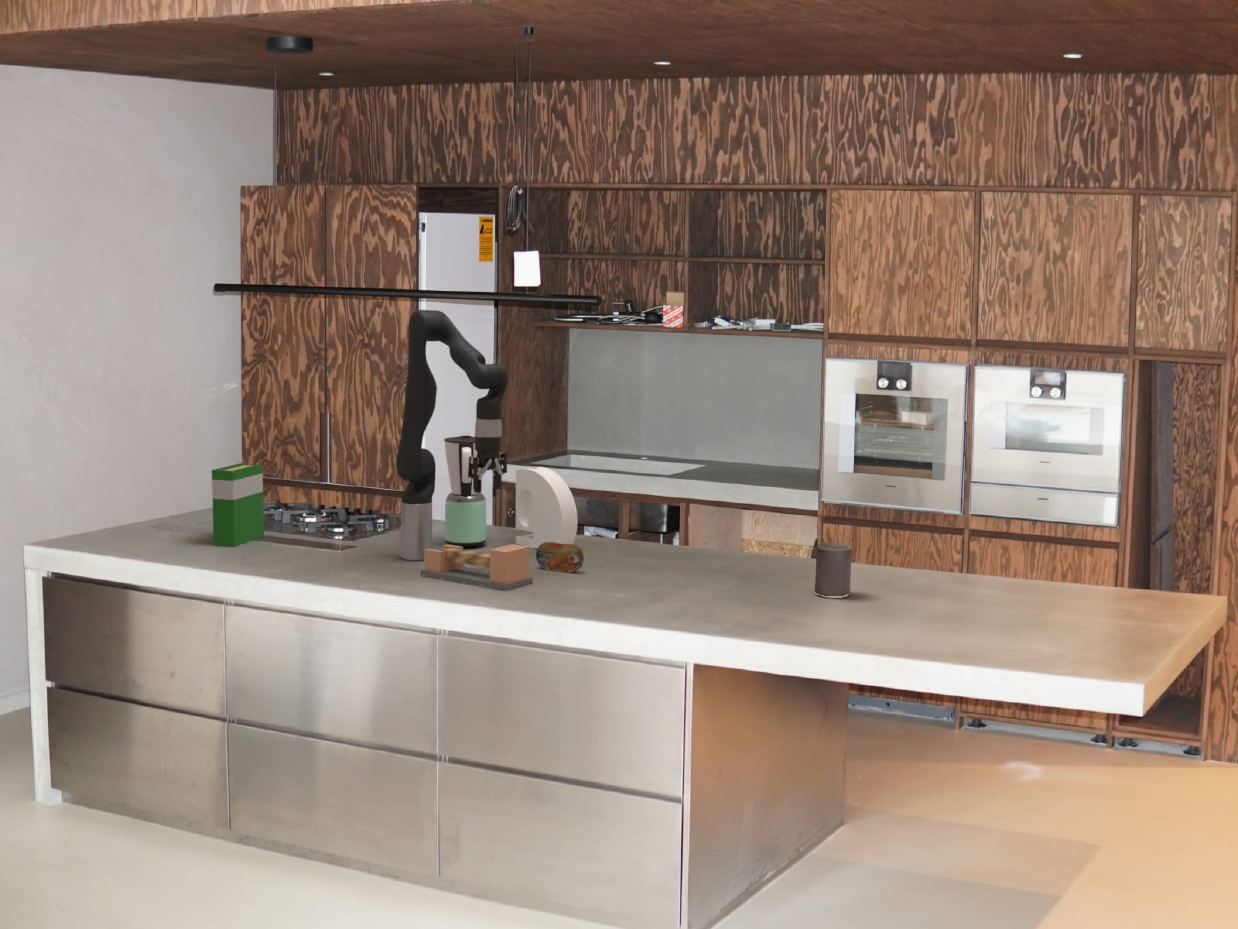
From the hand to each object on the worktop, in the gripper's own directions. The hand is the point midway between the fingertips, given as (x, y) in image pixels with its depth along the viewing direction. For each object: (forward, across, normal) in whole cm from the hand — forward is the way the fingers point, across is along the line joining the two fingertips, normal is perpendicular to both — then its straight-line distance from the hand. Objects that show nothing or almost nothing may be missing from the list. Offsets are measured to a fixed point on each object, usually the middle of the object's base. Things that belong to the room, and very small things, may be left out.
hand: (487, 490), depth 402 cm
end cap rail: (+25, +6, +1) cm, 25 cm away
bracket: (+25, -42, -11) cm, 50 cm away
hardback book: (+27, +11, -94) cm, 98 cm away
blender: (+25, -28, -33) cm, 50 cm away
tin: (+25, -19, +12) cm, 33 cm away
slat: (+20, +6, +2) cm, 21 cm away
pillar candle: (+23, -41, +90) cm, 101 cm away
